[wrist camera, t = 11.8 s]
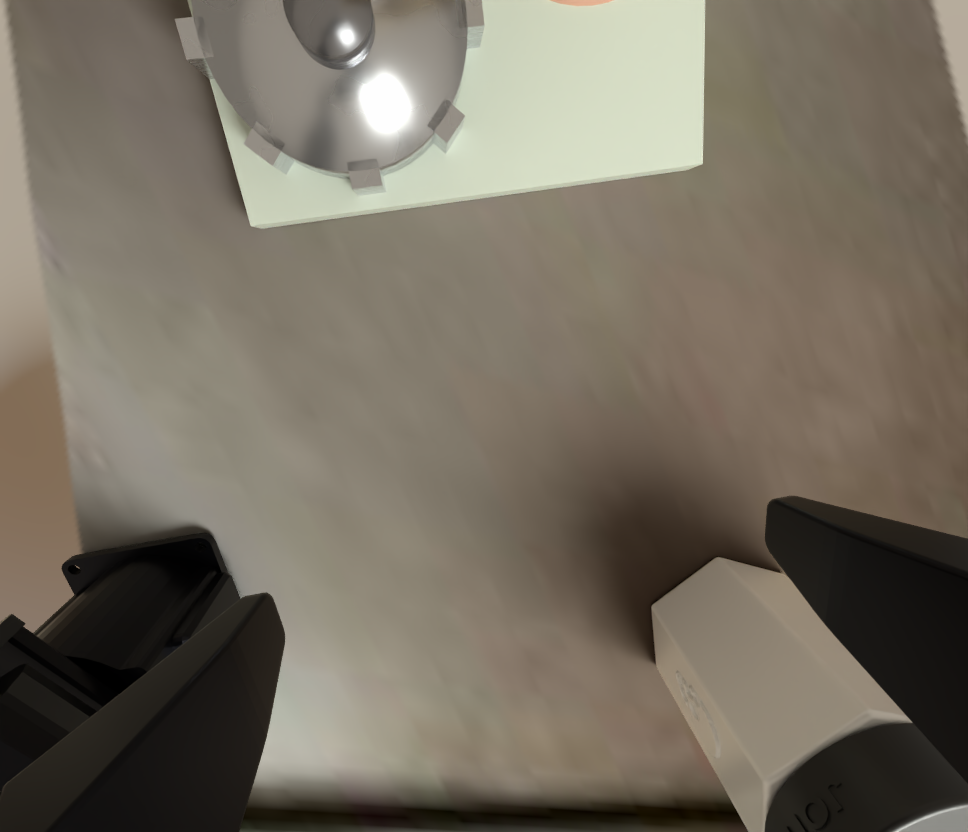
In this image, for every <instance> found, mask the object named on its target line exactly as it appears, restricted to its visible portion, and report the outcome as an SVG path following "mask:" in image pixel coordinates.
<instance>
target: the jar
mask: <svg viewBox="0 0 968 832" xmlns="http://www.w3.org/2000/svg"><path fill="white" fill-rule="evenodd" d="M651 611H652V624H653V635H654V647H655V659H656V667H657V669H658V671H659V673H660V675H661V676H662V678H663V680H664V682H665V684H666V685H667V687H668V689H669V691H670V692H671V694H672V696H673V698H674V700H675V701H676V703H677V705H678V707H679V709H680V710H681V712H682V714H683V716H684V717H685V719H686V721H687V723H688V725H689V726H690V728H691V730H692V732H693V733H694V735H695V737H696V739H697V741H698V742H699V744H700V746H701V748H702V750H703V751H704V753H705V755H706V757H707V758H708V760H709V762H710V764H711V766H712V767H713V769H714V771H715V773H716V774H717V776H718V778H719V780H720V782H721V783H722V785H723V787H724V789H725V790H726V792H727V794H728V796H729V798H730V799H731V801H732V803H733V805H734V807H735V808H736V810H737V812H738V814H739V815H740V817H741V819H742V821H743V823H744V824H745V826H746V828H747V830H748V831H749V832H968V784H967V783H966V781H965V780H964V779H963V778H962V777H961V776H960V775H959V774H958V773H957V771H956V770H955V769H954V768H953V767H952V766H951V765H950V764H949V763H948V761H947V760H946V759H945V758H944V757H943V756H942V755H941V754H940V753H939V751H938V750H937V749H936V748H935V747H934V746H933V745H932V744H931V743H930V741H929V740H928V739H927V738H926V737H925V736H924V735H923V734H922V733H921V731H920V730H919V729H918V728H917V727H916V726H915V725H914V724H913V723H912V721H911V720H910V719H909V718H908V717H907V716H906V715H905V714H904V713H903V711H902V710H901V709H900V708H899V707H898V706H897V705H896V704H895V703H894V701H893V700H892V699H891V698H890V697H889V696H888V695H887V694H886V693H885V691H884V690H883V689H882V688H881V687H880V686H879V685H878V684H877V683H876V681H875V680H874V679H873V678H872V677H871V676H870V675H869V674H868V673H867V671H866V670H865V669H864V668H863V667H862V666H861V665H860V664H859V663H858V661H857V660H856V659H855V658H854V657H853V656H852V655H851V654H850V653H849V652H848V650H847V649H846V648H845V647H844V646H843V645H842V644H841V643H840V642H839V640H838V639H837V638H836V637H835V636H834V635H833V634H832V632H831V631H830V630H829V629H828V628H827V627H826V625H825V624H824V623H823V622H822V620H821V619H820V618H819V617H818V615H817V614H816V613H815V612H814V610H813V609H812V608H811V606H810V605H809V604H808V602H807V601H806V600H805V598H804V597H803V596H802V594H801V593H800V592H799V590H798V589H797V588H796V586H795V585H794V584H793V582H792V581H791V580H790V579H789V578H788V577H787V576H786V575H784V574H782V573H778V572H774V571H770V570H767V569H763V568H759V567H755V566H751V565H748V564H744V563H740V562H736V561H732V560H729V559H725V558H721V557H716V558H714V559H713V560H712V561H710V562H709V563H708V564H706V565H705V566H703V567H702V568H701V569H699V570H698V571H697V572H695V573H694V574H693V575H691V576H690V577H689V578H687V579H686V580H685V581H683V582H682V583H681V584H679V585H678V586H677V587H675V588H674V589H673V590H671V591H670V592H669V593H667V594H666V595H665V596H663V597H662V598H661V599H659V600H658V601H656V602H655V603H654V604H653V605H652V607H651Z"/></svg>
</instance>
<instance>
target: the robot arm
mask: <svg viewBox="0 0 968 832" xmlns="http://www.w3.org/2000/svg"><path fill="white" fill-rule="evenodd" d="M765 542H766V545H767V548H768V550H769V552H770V553H771V554H772V556H773V557H774V558H775V560H776V561H777V562H778V564H779V565H780V566H781V568H782V569H783V570H784V572H785V573H786V574H787V576H788V577H789V578H790V580H791V581H792V582H793V584H794V585H795V586H796V588H797V589H798V590H799V592H800V593H801V594H802V596H803V597H804V598H805V600H806V601H807V602H808V604H809V605H810V606H811V608H812V609H813V610H814V612H815V613H816V614H817V615H818V617H819V618H820V619H821V620H822V622H823V623H824V624H825V625H826V627H827V628H828V629H829V630H830V631H831V632H832V634H833V635H834V636H835V637H836V638H837V639H838V640H839V642H840V643H841V644H842V645H843V646H844V647H845V648H846V649H847V650H848V652H849V653H850V654H851V655H852V656H853V657H854V658H855V659H856V660H857V661H858V663H859V664H860V665H861V666H862V667H863V668H864V669H865V670H866V671H867V673H868V674H869V675H870V676H871V677H872V678H873V679H874V680H875V681H876V683H877V684H878V685H879V686H880V687H881V688H882V689H883V690H884V691H885V693H886V694H887V695H888V696H889V697H890V698H891V699H892V700H893V701H894V703H895V704H896V705H897V706H898V707H899V708H900V709H901V710H902V711H903V713H904V714H905V715H906V716H907V717H908V718H909V719H910V720H911V721H912V723H913V724H914V725H915V726H916V727H917V728H918V729H919V730H920V731H921V733H922V734H923V735H924V736H925V737H926V738H927V739H928V740H929V741H930V743H931V744H932V745H933V746H934V747H935V748H936V749H937V750H938V751H939V753H940V754H941V755H942V756H943V757H944V758H945V759H946V760H947V761H948V763H949V764H950V765H951V766H952V767H953V768H954V769H955V770H956V771H957V773H958V774H959V775H960V776H961V777H962V778H963V779H964V780H965V781H966V783H967V784H968V539H967V538H963V537H959V536H955V535H951V534H947V533H943V532H939V531H935V530H930V529H926V528H922V527H918V526H914V525H910V524H906V523H902V522H898V521H894V520H890V519H886V518H882V517H878V516H874V515H870V514H866V513H862V512H858V511H854V510H850V509H846V508H842V507H838V506H834V505H830V504H826V503H822V502H818V501H814V500H810V499H806V498H802V497H798V496H787V497H782V498H776V499H772V500H771V501H770V502H769V503H768V505H767V515H766V529H765ZM199 543H203V544H205V546H206V547H202V546H200V545H199ZM75 565H76V566H78V567H79V568H80V569H79V568H77V567H76V566H75ZM62 571H63V574H64V575H65V577H66V579H67V581H68V583H69V585H70V587H71V589H72V591H73V593H74V596H73V597H72V598H71V599H70V600H69V601H68V602H67V603H65V604H64V605H63V606H62V607H61V608H60V609H59V610H58V611H57V612H56V613H55V614H53V615H52V616H51V617H50V618H49V619H48V620H47V621H46V622H45V623H44V624H43V625H42V626H40V627H39V628H38V629H37V630H36V631H35V632H34V633H31V632H30V631H29V630H27V629H26V628H25V627H23V626H24V625H25V623H24V622H23V621H21V620H20V619H18V618H17V617H16V616H14V615H13V614H11V615H9V616H8V617H6V618H5V619H4V620H2V621H1V622H0V832H239V830H240V827H241V823H242V820H243V816H244V813H245V810H246V806H247V803H248V800H249V796H250V793H251V789H252V786H253V783H254V779H255V776H256V773H257V769H258V766H259V762H260V759H261V756H262V752H263V748H264V745H265V741H266V737H267V733H268V728H269V724H270V719H271V714H272V708H273V703H274V698H275V693H276V687H277V682H278V677H279V672H280V666H281V661H282V656H283V651H284V645H285V632H284V628H283V625H282V622H281V619H280V616H279V614H278V611H277V608H276V605H275V602H274V600H273V598H272V596H271V595H270V594H268V593H260V594H254V595H249V596H245V597H242V598H241V599H240V597H239V594H238V592H237V589H236V586H235V584H234V581H233V579H232V576H231V575H230V574H229V573H228V572H227V570H226V567H225V564H224V562H223V559H222V556H221V554H220V551H219V549H218V546H217V543H216V541H215V539H214V538H213V537H212V536H211V535H210V534H206V533H199V534H193V535H187V536H182V537H176V538H170V539H165V540H159V541H153V542H148V543H142V544H136V545H130V546H125V547H119V548H113V549H108V550H102V551H96V552H91V553H85V554H79V555H75V556H72V557H71V558H70V559H69V560H67V561H66V562H65V563H64V564H63V565H62Z"/></svg>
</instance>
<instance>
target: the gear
mask: <svg viewBox="0 0 968 832" xmlns="http://www.w3.org/2000/svg"><path fill="white" fill-rule="evenodd" d="M191 1H192V10H193V17H188V18H178V19H175V22H176V25H177V29H178V32H179V36H180V39H181V43H182V46H183V49H184V53H185V56H186V60H187V61H189V62H190V63H191V64H192V65H193V66H194V67H196V68H197V69H198V70H199V71H200V72H202V73H203V74H204V75H205V76H206V77H207V78H209V79H215V81H216V82H217V84H218V86H219V87H220V89H221V91H222V92H223V94H224V96H225V97H226V99H227V100H228V101H229V103H230V104H231V105H232V107H233V108H234V109H235V111H236V112H237V113H238V114H239V116H240V117H241V118H242V119H243V120H244V121H245V122H246V123H247V124H248V125H249V126H250V127H251V128H252V130H251V131H250V133H249V135H248V137H247V139H246V140H245V142H244V145H245V146H247V147H248V148H249V149H251V150H252V151H253V152H255V153H256V154H257V155H259V156H260V157H261V158H263V159H264V160H265V161H267V162H268V163H269V164H270V165H272V166H273V167H275V168H276V169H278V170H280V171H281V172H283V173H284V174H286V175H287V173H288V171H289V170H290V168H291V166H292V165H293V163H294V162H296V163H298V164H300V165H302V166H304V167H306V168H308V169H310V170H313V171H315V172H318V173H321V174H323V175H327V176H332V177H336V178H342V179H350V181H351V186H352V189H353V190H354V191H355V192H356V193H357V194H358V195H359V196H361V195H369V194H376V193H383V192H386V186H385V181H384V176H385V175H387V174H390V173H393V172H395V171H398V170H400V169H402V168H404V167H405V166H407V165H409V164H411V163H412V162H413V161H415V160H416V159H417V158H419V157H420V156H421V155H423V154H424V153H425V152H426V151H427V150H428V149H429V148H430V147H431V146H432V145H433V143H434V144H435V145H436V146H437V147H438V148H439V149H441V150H442V151H443V152H444V153H445V154H446V153H447V151H448V150H449V148H450V147H451V145H452V144H453V142H454V141H455V139H456V138H457V136H458V135H459V133H460V132H461V130H462V128H463V123H464V119H465V115H464V114H463V113H461V112H460V111H459V110H458V109H457V108H456V107H455V105H456V102H457V99H458V95H459V91H460V88H461V83H462V77H463V71H464V65H465V58H466V51H467V49H470V48H479V47H480V44H481V40H482V35H483V31H484V26H485V24H484V15H483V6H482V0H191Z"/></svg>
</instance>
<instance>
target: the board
mask: <svg viewBox="0 0 968 832" xmlns="http://www.w3.org/2000/svg"><path fill="white" fill-rule="evenodd" d="M187 1H188V4H189V8H190V11H191V15H192V17H193V10H192V1H191V0H187ZM482 6H483V15H484V24H485V26H484V31H483V35H482V40H481V44H480V47H479V48H470V49H467V51H466V58H465V65H464V71H463V77H462V83H461V88H460V91H459V95H458V99H457V102H456V105H455V107H456V108H457V109H458V110H459V111H460V112H461V113H463V114H464V115H465V119H464V123H463V128H462V130H461V132H460V133H459V135H458V136H457V138H456V139H455V141H454V142H453V144H452V145H451V147H450V148H449V150H448V151H447V153H446V154H445V153H444V152H443V151H442V150H441V149H439V148H438V147H437V146H436V145H435V144H434V143H433V145H432V146H431V147H430V148H429V149H428V150H427V151H426V152H425V153H424V154H423V155H421V156H420V157H419V158H417V159H416V160H415V161H413V162H412V163H411V164H409V165H407V166H405V167H404V168H402V169H400V170H398V171H395V172H393V173H390V174H387V175H385V176H384V181H385V186H386V192H383V193H376V194H369V195H361V196H359V195H358V194H357V193H356V192H355V191H354V190H353V189H352V186H351V181H350V179H342V178H336V177H332V176H327V175H323V174H321V173H318V172H315V171H313V170H310V169H308V168H306V167H304V166H302V165H300V164H298V163H296V162H294V163H293V165H292V166H291V168H290V170H289V171H288V173H287V175H286V174H284V173H283V172H281V171H280V170H278V169H276V168H275V167H273V166H272V165H270V164H269V163H268V162H267V161H265V160H264V159H263V158H261V157H260V156H259V155H257V154H256V153H255V152H253V151H252V150H251V149H249V148H248V147H247V146H245V145H244V142H245V140H246V139H247V137H248V135H249V133H250V131H251V130H252V128H251V127H250V126H249V125H248V124H247V123H246V122H245V121H244V120H243V119H242V118H241V117H240V116H239V114H238V113H237V112H236V111H235V109H234V108H233V107H232V105H231V104H230V103H229V101H228V100H227V99H226V97H225V96H224V94H223V92H222V91H221V89H220V87H219V86H218V84H217V82H216V81H215V79H210V83H211V86H212V90H213V93H214V97H215V100H216V104H217V108H218V111H219V115H220V118H221V122H222V125H223V129H224V132H225V136H226V140H227V143H228V147H229V150H230V154H231V157H232V161H233V165H234V168H235V172H236V175H237V179H238V182H239V186H240V189H241V193H242V197H243V200H244V204H245V207H246V211H247V214H248V218H249V222H250V225H251V226H253V227H257V228H262V229H263V228H271V227H278V226H285V225H292V224H300V223H307V222H314V221H321V220H329V219H336V218H343V217H350V216H358V215H365V214H372V213H379V212H387V211H394V210H401V209H408V208H416V207H423V206H430V205H437V204H445V203H452V202H459V201H466V200H474V199H481V198H488V197H495V196H503V195H510V194H517V193H524V192H532V191H539V190H546V189H553V188H561V187H568V186H575V185H582V184H589V183H597V182H604V181H611V180H618V179H626V178H633V177H640V176H647V175H655V174H662V173H669V172H676V171H684V170H688V169H691V168H693V167H696V166H699V165H701V164H703V111H704V43H705V0H482Z"/></svg>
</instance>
